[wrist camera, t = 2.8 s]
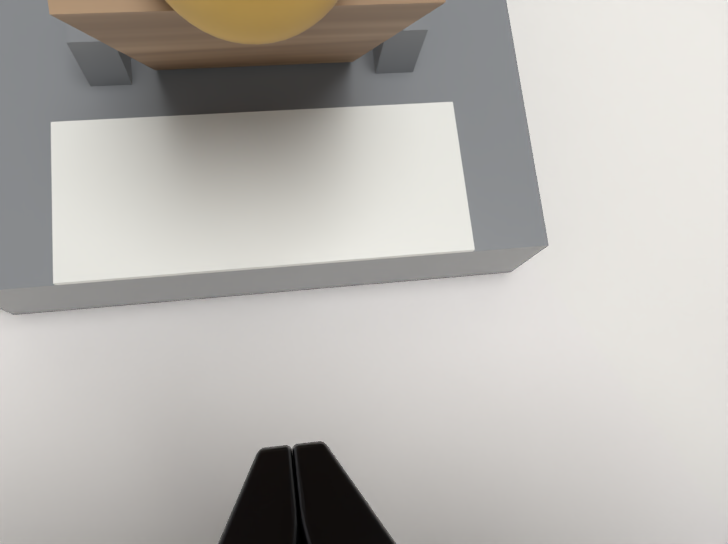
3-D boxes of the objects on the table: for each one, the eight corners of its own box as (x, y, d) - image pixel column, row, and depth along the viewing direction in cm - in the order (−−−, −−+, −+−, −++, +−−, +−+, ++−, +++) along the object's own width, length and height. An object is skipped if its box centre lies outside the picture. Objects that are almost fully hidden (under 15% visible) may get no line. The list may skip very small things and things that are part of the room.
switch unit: (510, 272, 21) (580, 222, 16) (13, 314, 19) (-81, 272, 14) (451, -103, 23) (495, -243, 19) (12, -99, 22) (-67, -254, 17)
